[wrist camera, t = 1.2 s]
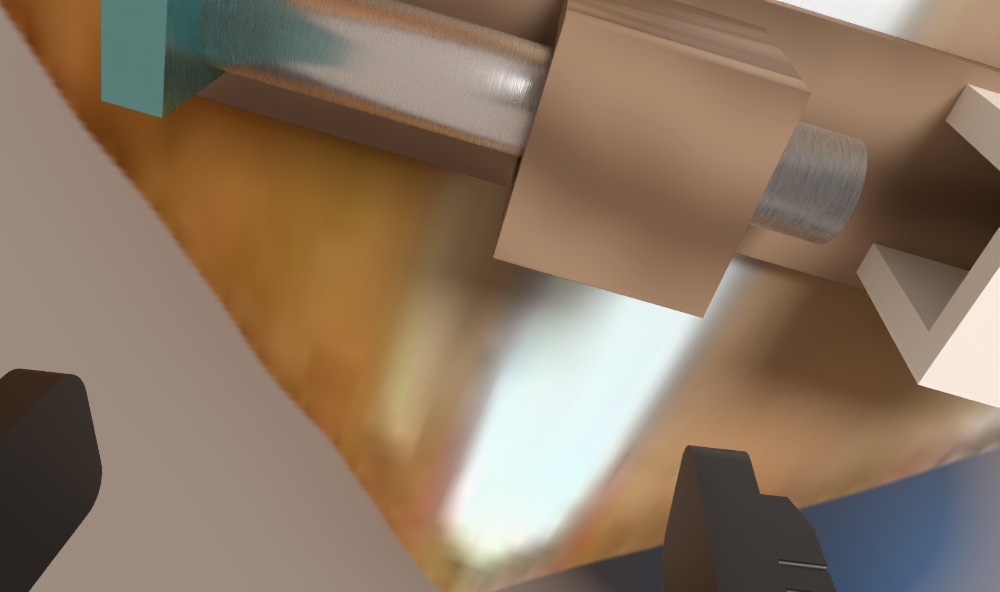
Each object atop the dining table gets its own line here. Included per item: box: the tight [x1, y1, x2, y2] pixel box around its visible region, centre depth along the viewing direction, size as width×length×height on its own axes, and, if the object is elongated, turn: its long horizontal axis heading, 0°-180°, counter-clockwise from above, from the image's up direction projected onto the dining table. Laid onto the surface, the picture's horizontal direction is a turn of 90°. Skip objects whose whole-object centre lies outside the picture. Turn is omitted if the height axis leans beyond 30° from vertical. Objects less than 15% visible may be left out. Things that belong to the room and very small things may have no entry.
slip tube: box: [101, 0, 867, 245], centre depth 28 cm, size 25×5×7 cm, turn 75°
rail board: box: [195, 0, 1000, 318], centre depth 29 cm, size 10×43×9 cm, turn 75°
